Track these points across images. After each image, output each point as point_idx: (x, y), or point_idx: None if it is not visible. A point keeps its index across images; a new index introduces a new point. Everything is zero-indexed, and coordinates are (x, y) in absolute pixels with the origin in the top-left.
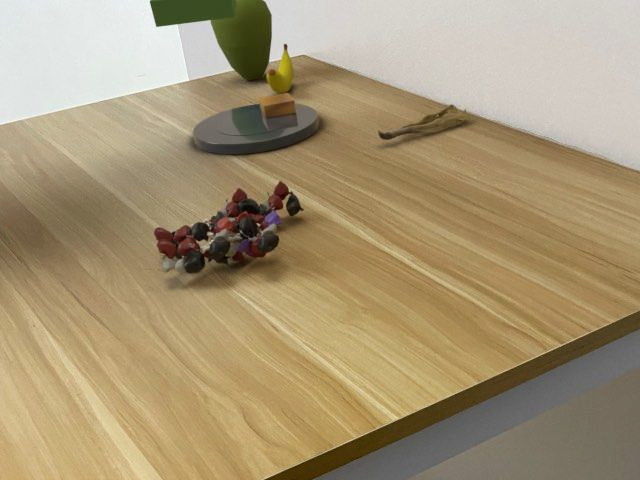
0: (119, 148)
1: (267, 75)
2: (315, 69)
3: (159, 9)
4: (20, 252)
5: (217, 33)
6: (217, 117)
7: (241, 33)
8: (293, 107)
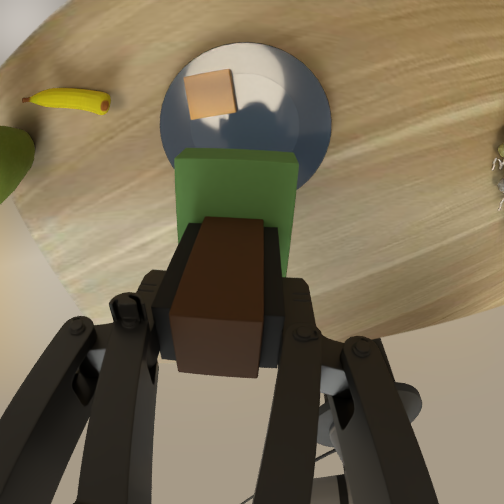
0: None
1: (104, 112)
2: (16, 73)
3: None
4: (436, 319)
5: (7, 196)
6: None
7: (15, 161)
8: (230, 71)
